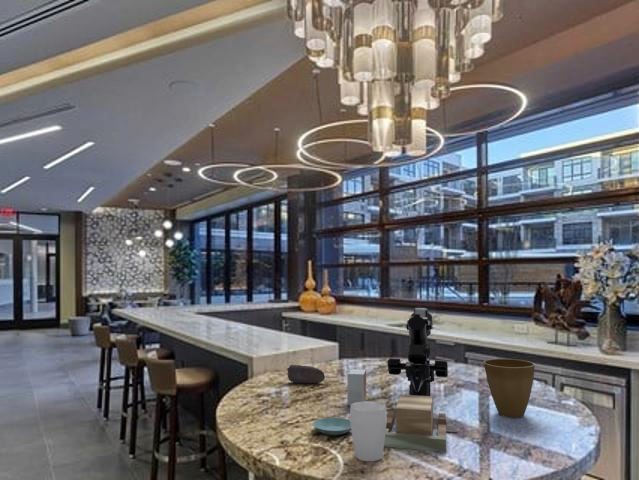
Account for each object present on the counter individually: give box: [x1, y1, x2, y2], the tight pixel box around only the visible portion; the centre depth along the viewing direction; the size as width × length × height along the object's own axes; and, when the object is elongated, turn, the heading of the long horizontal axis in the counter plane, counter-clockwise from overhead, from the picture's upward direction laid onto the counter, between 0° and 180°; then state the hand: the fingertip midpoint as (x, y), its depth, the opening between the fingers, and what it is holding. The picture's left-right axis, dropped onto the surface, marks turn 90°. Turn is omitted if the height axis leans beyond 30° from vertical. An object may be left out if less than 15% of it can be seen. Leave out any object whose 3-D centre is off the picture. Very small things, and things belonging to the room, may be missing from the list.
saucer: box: [312, 417, 352, 436], centre depth 134 cm, size 12×12×2 cm
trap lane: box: [384, 409, 458, 453], centre depth 133 cm, size 26×23×3 cm
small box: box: [347, 368, 367, 407], centre depth 163 cm, size 8×6×10 cm
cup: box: [349, 400, 387, 463], centre depth 116 cm, size 9×9×12 cm
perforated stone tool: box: [287, 364, 326, 384], centre depth 191 cm, size 15×5×7 cm, turn 77°
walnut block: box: [395, 394, 434, 436], centre depth 131 cm, size 14×9×9 cm, turn 165°
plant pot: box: [483, 358, 536, 419], centre depth 149 cm, size 15×15×16 cm
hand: (416, 391), depth 147 cm, fingers closed
